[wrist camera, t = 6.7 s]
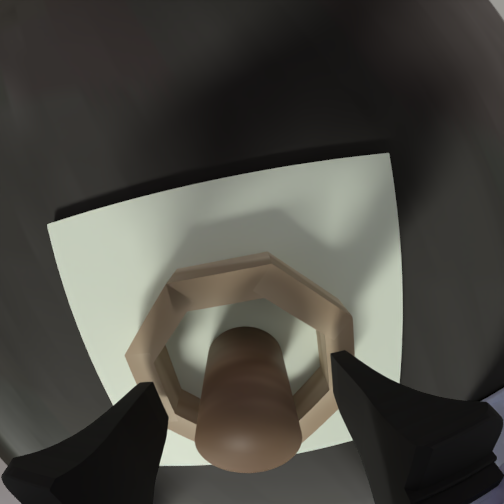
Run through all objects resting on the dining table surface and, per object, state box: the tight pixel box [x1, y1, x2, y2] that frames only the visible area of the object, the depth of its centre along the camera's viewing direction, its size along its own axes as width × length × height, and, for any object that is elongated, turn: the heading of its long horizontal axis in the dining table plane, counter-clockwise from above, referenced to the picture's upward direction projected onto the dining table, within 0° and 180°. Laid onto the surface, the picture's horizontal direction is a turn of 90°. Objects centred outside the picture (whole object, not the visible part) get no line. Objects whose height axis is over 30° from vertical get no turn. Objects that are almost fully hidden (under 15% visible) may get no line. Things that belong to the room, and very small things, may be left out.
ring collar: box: [124, 252, 355, 443], centre depth 13 cm, size 9×9×2 cm
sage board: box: [47, 153, 403, 466], centre depth 14 cm, size 16×16×1 cm
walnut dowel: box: [194, 326, 302, 473], centre depth 11 cm, size 4×4×6 cm
